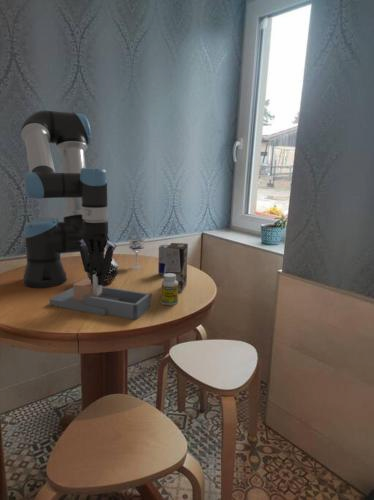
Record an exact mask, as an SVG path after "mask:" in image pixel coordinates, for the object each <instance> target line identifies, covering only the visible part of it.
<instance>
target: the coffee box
mask: <svg viewBox="0 0 374 500" xmlns="http://www.w3.org/2000/svg"><path fill="white" fill-rule="evenodd" d="M168 245H169V246H168V247H166V273H173V274H176V281H177V282H178V293H183V291H184V290H185V288H186V286H187V282H188V249H189V248H188V247H189V244H188V243H185V242H181V243H180V242H177V243H176V242H171V243H170V244H168Z"/></svg>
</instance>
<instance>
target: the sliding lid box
mask: <svg viewBox="0 0 374 500" xmlns="http://www.w3.org/2000/svg"><path fill="white" fill-rule="evenodd" d="M48 300H49V306H51V305H54V306H53V307H57V306H59V307H58V308H62V307H63V308H64V309H67V310H73V311H79V312H85V313H90V314H95V315H101V316H106V315H109V316H114V317H120V318H125V319H131V320H134V321H135V320H138V319H139V318H141V316H143V315H144V314H145V313H146V312H147V311H149V310H150V309H151V308H152V294H151V293H149V292H148V293H147V292H140V291H135V290H129V289H122V288H117V287H110V286H103V285H102V293H101V296H99V297H93V296H87V295H85V296H83V300H84V301H80V300H75V299H74V294H73V287H71V288H69V289H67V290H65V291H63V292H61V293H59V294H57V295H55V296H53V297H51V298H50V299H48Z"/></svg>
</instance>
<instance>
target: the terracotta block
mask: <svg viewBox="0 0 374 500" xmlns="http://www.w3.org/2000/svg"><path fill="white" fill-rule="evenodd" d="M72 288H73V294H74V299H75V300H80V301H84V300H83V296H85V295H87V296H93V297H99V296H101V294H99V295H98V296H97V295H93V284H91V279H88V278H83V279H81V280H79V281H77V282H75V283H73V284H72Z"/></svg>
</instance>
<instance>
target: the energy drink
mask: <svg viewBox="0 0 374 500" xmlns="http://www.w3.org/2000/svg"><path fill="white" fill-rule="evenodd" d="M169 245H170V244H160V245H159V246H158V268H157V269H158V270H157V271H158V275H159V276H160V277H164V274H166V247H168V246H169Z"/></svg>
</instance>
